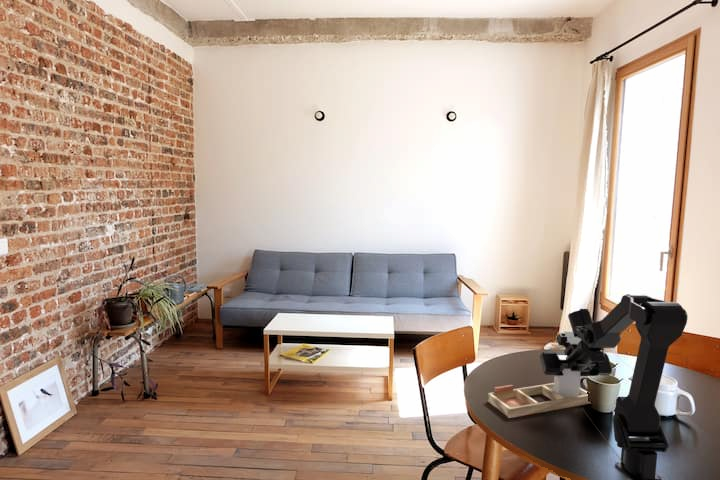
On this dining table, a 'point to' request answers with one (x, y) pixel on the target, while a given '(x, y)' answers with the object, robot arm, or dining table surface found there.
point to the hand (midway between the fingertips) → (565, 374)
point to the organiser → (532, 400)
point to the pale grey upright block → (567, 382)
